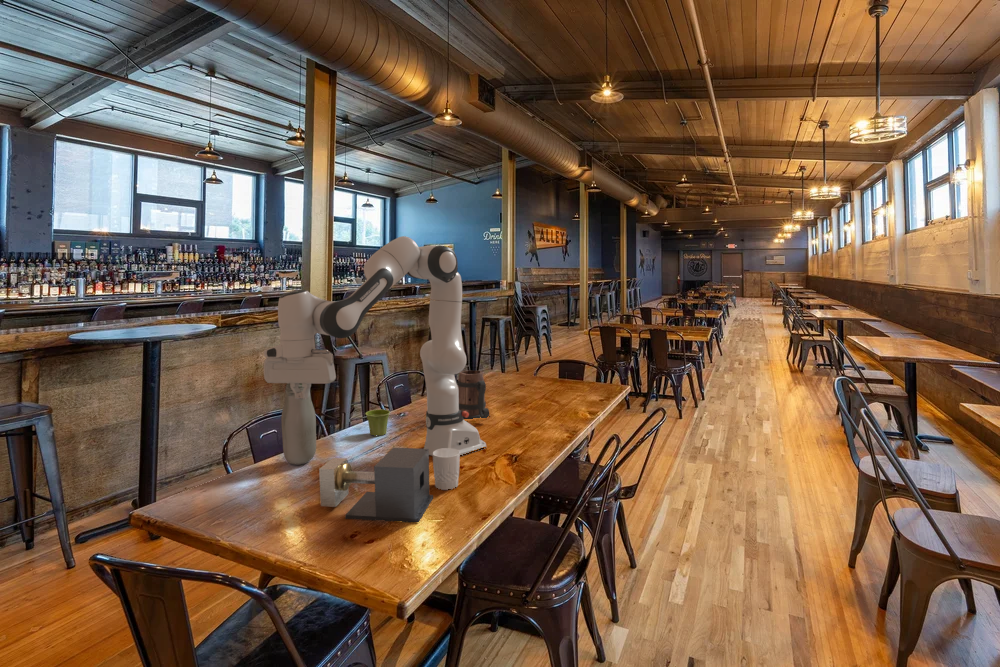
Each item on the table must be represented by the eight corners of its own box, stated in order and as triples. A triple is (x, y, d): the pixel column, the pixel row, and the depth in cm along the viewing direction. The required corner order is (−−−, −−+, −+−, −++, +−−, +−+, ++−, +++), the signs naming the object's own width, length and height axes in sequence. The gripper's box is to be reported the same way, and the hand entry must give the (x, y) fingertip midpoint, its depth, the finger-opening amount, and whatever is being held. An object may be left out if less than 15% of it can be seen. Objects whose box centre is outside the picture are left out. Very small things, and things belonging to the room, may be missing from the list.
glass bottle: (298, 470, 156) (294, 383, 153) (277, 465, 161) (273, 380, 158) (323, 460, 165) (320, 378, 162) (302, 455, 170) (299, 375, 167)
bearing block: (345, 518, 124) (343, 465, 123) (366, 495, 138) (365, 446, 136) (418, 522, 122) (417, 468, 120) (433, 498, 136) (432, 449, 134)
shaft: (320, 506, 128) (319, 468, 127) (334, 493, 136) (333, 457, 135) (402, 510, 125) (401, 472, 124) (412, 496, 133) (411, 461, 132)
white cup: (433, 480, 148) (433, 448, 147) (460, 479, 148) (459, 447, 147) (432, 491, 140) (431, 457, 139) (460, 490, 141) (459, 456, 140)
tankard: (446, 414, 222) (445, 370, 220) (479, 409, 230) (479, 367, 228) (468, 427, 202) (468, 379, 200) (504, 421, 210) (504, 375, 208)
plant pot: (394, 431, 197) (394, 410, 196) (384, 438, 188) (383, 416, 187) (373, 429, 199) (372, 408, 198) (361, 436, 190) (360, 415, 189)
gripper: (338, 347, 136) (341, 396, 138) (273, 348, 141) (277, 395, 142) (325, 350, 130) (329, 402, 132) (258, 351, 135) (262, 400, 136)
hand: (301, 398), depth 137 cm, fingers closed
